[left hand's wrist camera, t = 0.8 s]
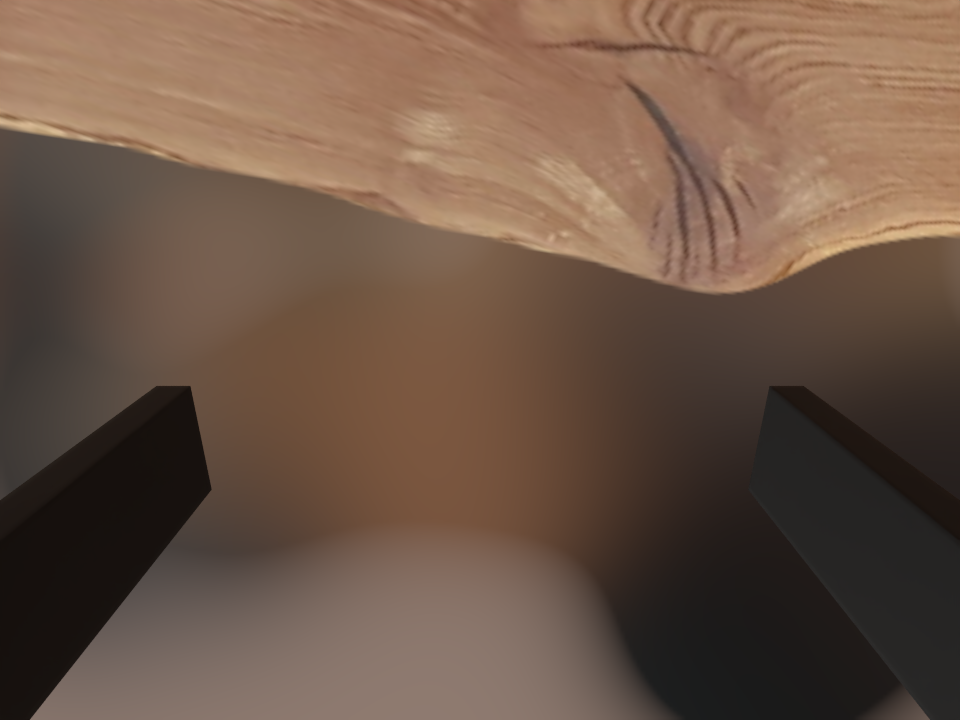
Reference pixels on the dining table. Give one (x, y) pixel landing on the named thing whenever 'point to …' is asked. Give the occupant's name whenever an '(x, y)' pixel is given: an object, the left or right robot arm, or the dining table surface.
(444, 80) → the dining table surface
